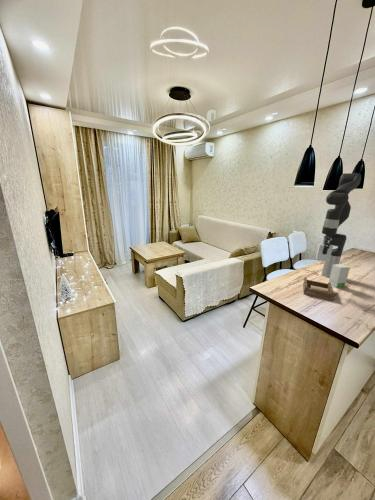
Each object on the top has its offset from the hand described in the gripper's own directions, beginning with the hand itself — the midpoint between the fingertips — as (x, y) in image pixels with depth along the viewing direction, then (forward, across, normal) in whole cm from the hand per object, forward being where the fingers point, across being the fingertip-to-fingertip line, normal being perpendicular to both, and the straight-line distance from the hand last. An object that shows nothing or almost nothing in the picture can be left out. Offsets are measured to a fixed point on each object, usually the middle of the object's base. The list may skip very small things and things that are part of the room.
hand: (324, 253), depth 132 cm
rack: (+25, +7, 0) cm, 26 cm away
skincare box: (+25, -12, +13) cm, 31 cm away
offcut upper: (+22, +11, 0) cm, 25 cm away
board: (+5, 0, 0) cm, 5 cm away
